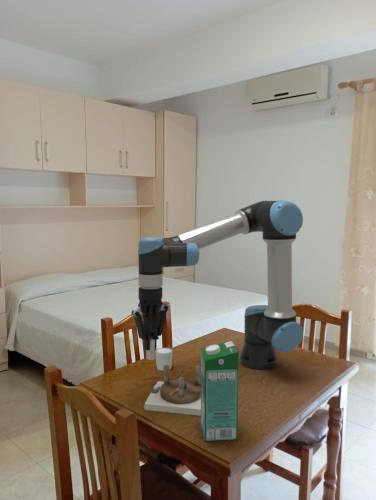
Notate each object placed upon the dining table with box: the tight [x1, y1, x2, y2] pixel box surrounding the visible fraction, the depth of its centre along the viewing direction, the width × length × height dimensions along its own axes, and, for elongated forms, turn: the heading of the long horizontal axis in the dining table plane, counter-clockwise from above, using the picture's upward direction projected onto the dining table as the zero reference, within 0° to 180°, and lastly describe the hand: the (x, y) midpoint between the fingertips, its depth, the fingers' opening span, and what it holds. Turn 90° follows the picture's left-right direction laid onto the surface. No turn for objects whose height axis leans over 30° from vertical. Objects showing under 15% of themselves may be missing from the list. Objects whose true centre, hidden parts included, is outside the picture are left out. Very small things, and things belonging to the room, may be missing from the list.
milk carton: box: [200, 340, 240, 442], centre depth 112 cm, size 9×9×25 cm
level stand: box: [143, 380, 201, 417], centre depth 130 cm, size 20×16×4 cm
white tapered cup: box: [155, 347, 174, 372], centre depth 156 cm, size 7×7×7 cm
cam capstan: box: [160, 364, 201, 403], centre depth 130 cm, size 14×14×8 cm
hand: (150, 358), depth 129 cm, fingers closed
